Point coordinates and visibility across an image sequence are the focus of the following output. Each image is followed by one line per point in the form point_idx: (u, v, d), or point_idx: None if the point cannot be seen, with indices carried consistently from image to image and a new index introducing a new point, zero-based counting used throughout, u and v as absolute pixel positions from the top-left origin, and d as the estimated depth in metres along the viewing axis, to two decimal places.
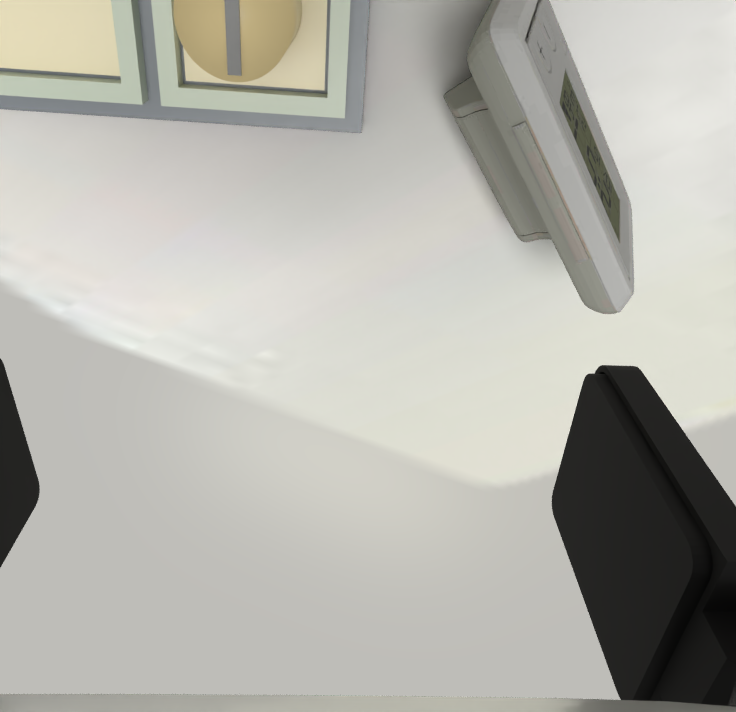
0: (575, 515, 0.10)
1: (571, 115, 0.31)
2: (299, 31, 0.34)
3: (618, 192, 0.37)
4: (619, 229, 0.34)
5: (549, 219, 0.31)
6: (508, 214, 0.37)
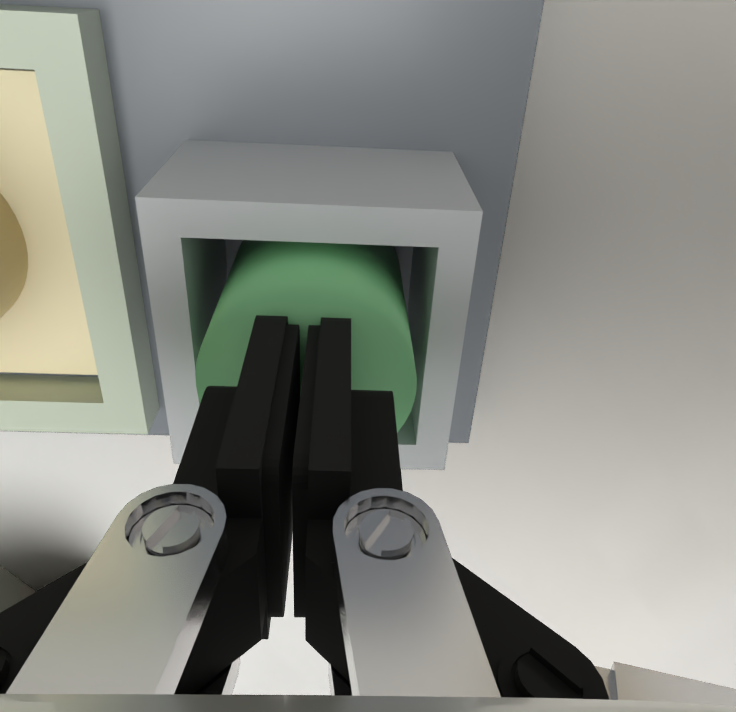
0: None
1: None
2: None
3: None
4: None
5: None
6: None
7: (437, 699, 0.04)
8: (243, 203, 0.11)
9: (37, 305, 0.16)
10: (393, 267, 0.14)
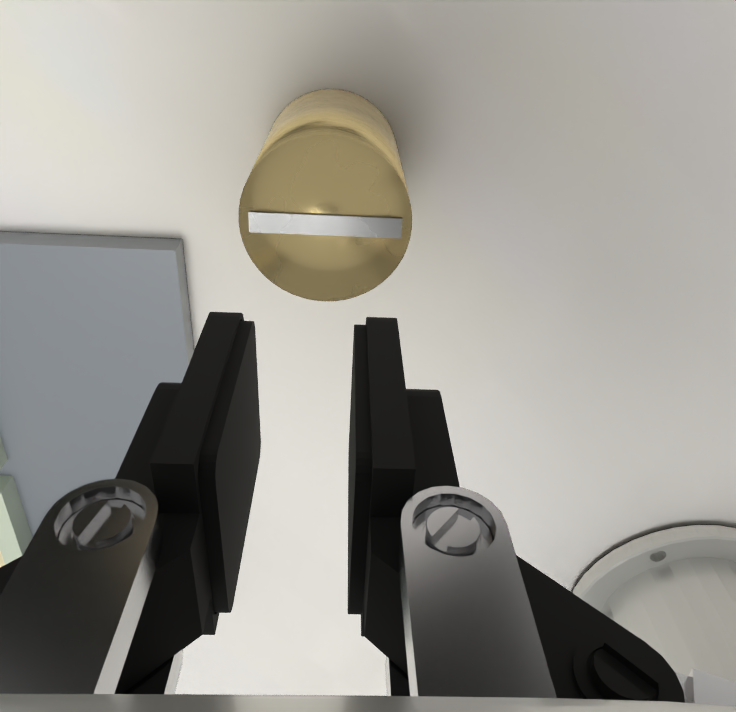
0: None
1: None
2: None
3: None
4: None
5: None
6: None
7: (437, 699, 0.04)
8: None
9: None
10: None
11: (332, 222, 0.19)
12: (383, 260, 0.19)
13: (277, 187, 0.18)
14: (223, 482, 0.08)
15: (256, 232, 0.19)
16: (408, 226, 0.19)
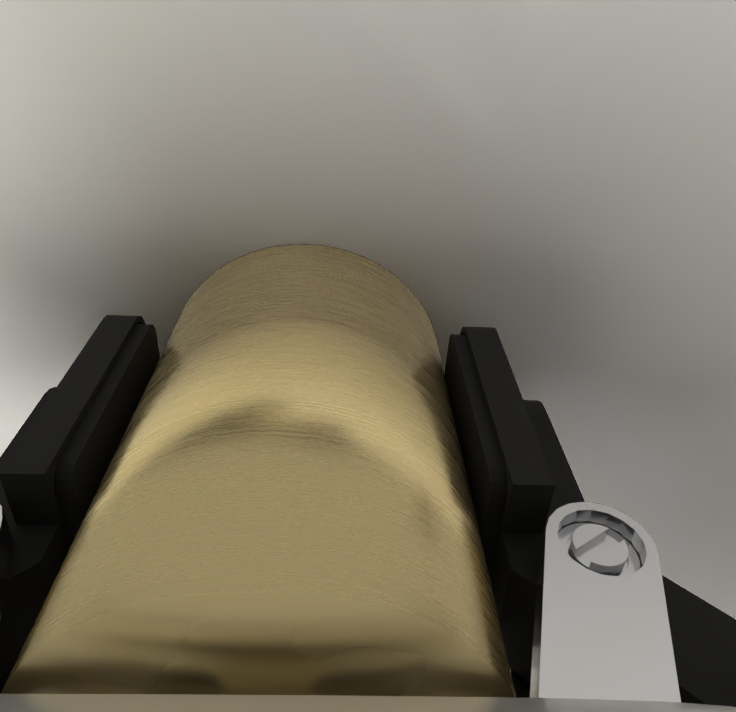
0: None
1: None
2: None
3: None
4: None
5: None
6: None
7: (437, 699, 0.04)
8: None
9: None
10: None
11: None
12: None
13: None
14: (91, 491, 0.08)
15: None
16: None
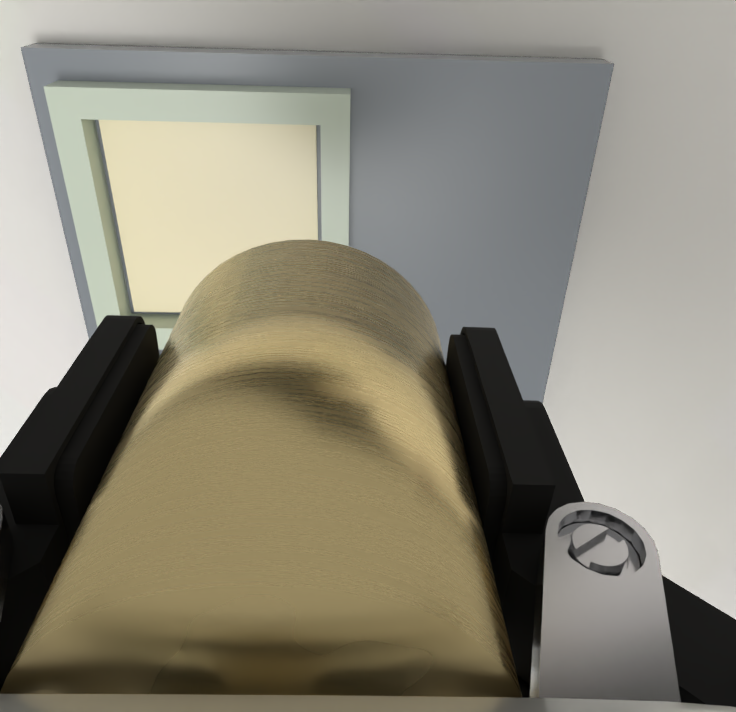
0: None
1: None
2: None
3: None
4: None
5: None
6: None
7: (436, 699, 0.04)
8: None
9: None
10: None
11: None
12: None
13: None
14: (91, 491, 0.08)
15: None
16: None
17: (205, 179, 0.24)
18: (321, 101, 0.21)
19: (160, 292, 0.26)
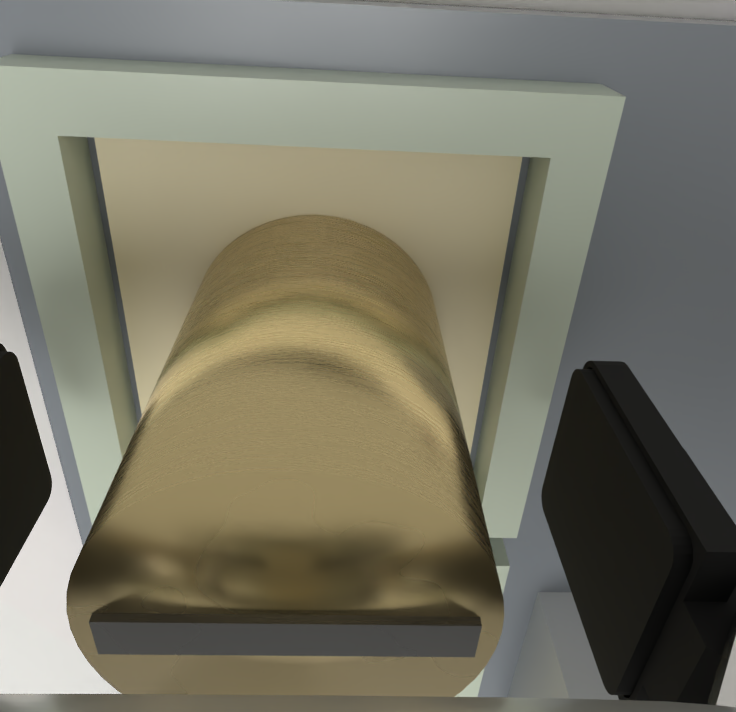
0: (563, 509, 0.10)
1: None
2: None
3: None
4: None
5: None
6: None
7: (437, 699, 0.04)
8: None
9: None
10: None
11: (306, 628, 0.07)
12: (429, 683, 0.08)
13: (158, 571, 0.07)
14: None
15: (117, 652, 0.07)
16: (493, 631, 0.08)
17: None
18: (563, 110, 0.10)
19: None
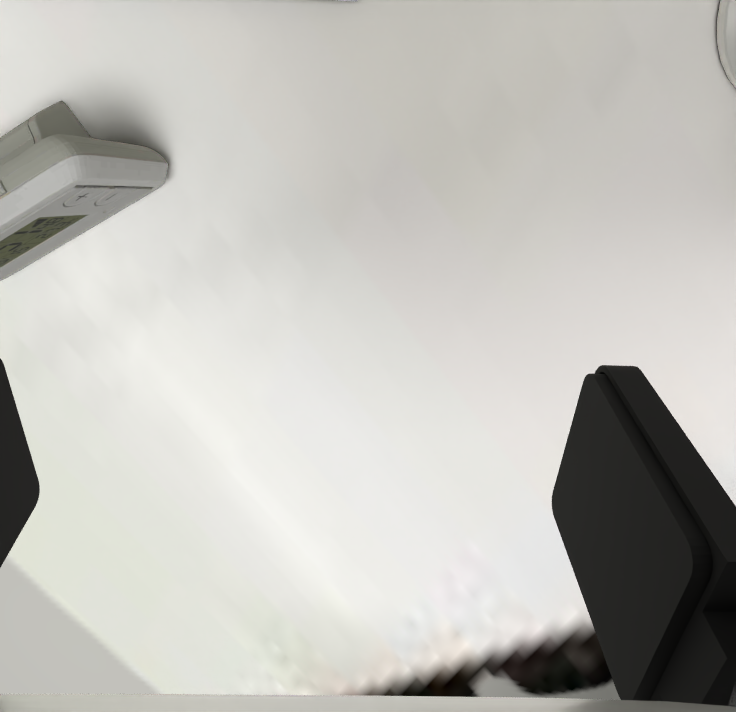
0: (575, 515, 0.10)
1: (40, 226, 0.36)
2: None
3: None
4: None
5: None
6: None
7: (437, 699, 0.04)
8: None
9: None
10: None
11: None
12: None
13: None
14: None
15: None
16: None
17: None
18: None
19: None
